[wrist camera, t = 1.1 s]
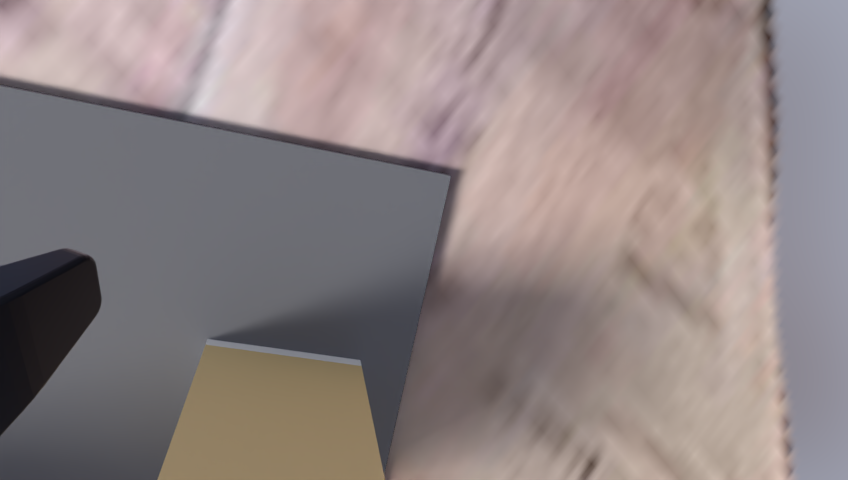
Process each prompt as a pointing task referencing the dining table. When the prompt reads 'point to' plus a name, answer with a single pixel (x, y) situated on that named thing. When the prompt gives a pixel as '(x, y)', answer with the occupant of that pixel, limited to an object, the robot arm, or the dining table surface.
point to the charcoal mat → (201, 268)
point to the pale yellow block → (274, 418)
